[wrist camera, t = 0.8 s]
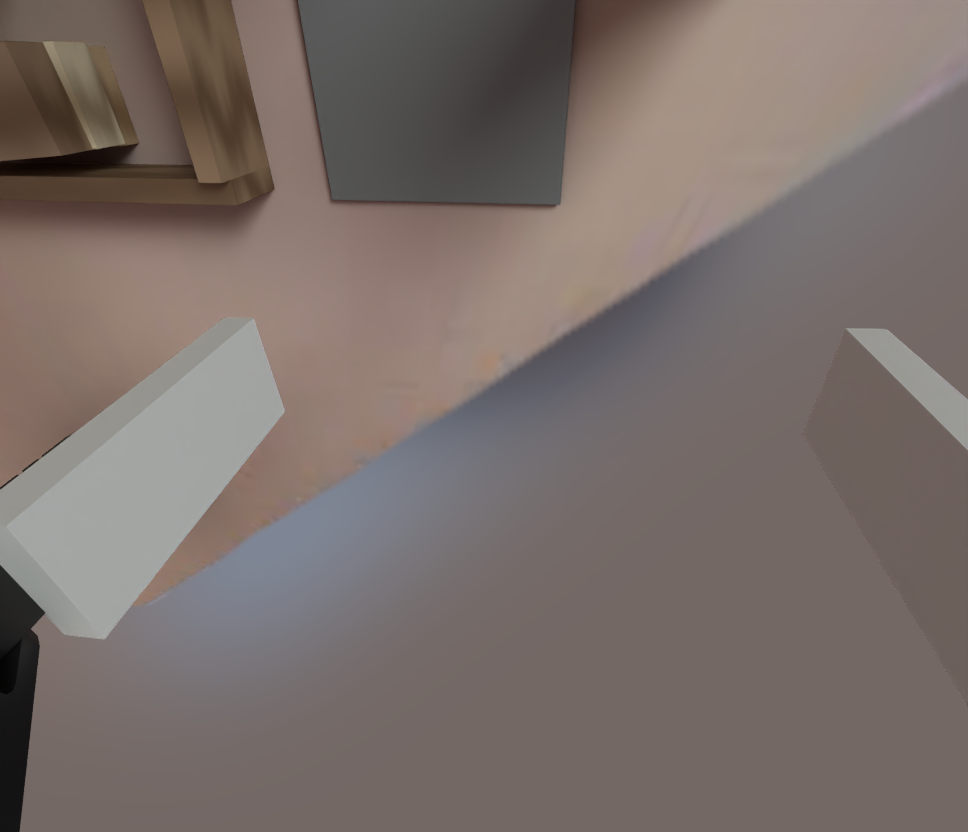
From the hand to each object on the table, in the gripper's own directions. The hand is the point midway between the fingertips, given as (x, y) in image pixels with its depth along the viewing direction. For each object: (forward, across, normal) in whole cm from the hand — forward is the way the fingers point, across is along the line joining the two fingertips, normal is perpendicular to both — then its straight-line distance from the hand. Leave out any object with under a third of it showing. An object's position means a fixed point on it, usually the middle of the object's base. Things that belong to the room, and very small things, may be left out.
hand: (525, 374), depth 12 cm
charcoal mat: (+26, -7, +6) cm, 28 cm away
